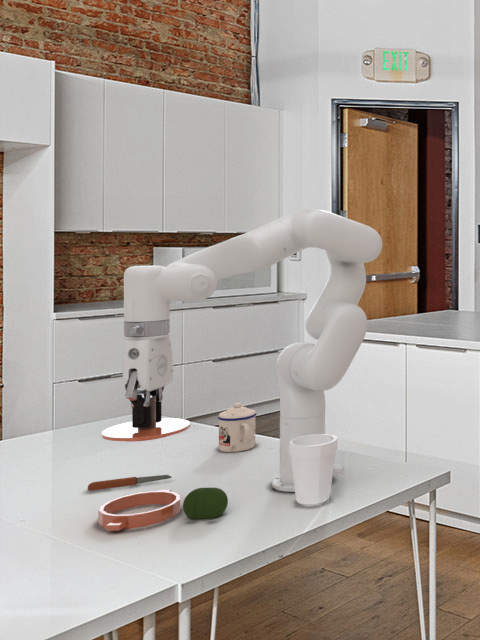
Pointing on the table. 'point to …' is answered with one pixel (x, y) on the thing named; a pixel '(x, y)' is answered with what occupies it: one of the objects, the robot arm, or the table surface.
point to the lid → (142, 434)
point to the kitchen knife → (124, 482)
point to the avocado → (205, 503)
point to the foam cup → (313, 467)
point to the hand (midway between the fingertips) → (147, 423)
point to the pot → (139, 519)
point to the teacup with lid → (236, 429)
